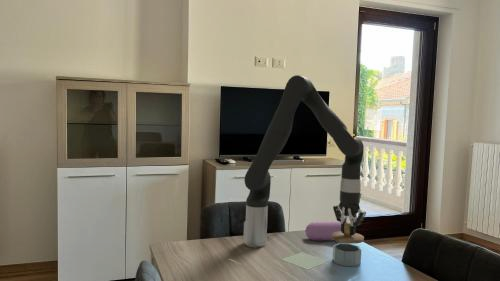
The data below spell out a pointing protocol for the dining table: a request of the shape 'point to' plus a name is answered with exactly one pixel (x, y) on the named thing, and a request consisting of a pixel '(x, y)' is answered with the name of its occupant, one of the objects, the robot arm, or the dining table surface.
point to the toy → (322, 230)
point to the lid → (347, 235)
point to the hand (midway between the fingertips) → (348, 233)
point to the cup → (346, 254)
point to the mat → (304, 260)
